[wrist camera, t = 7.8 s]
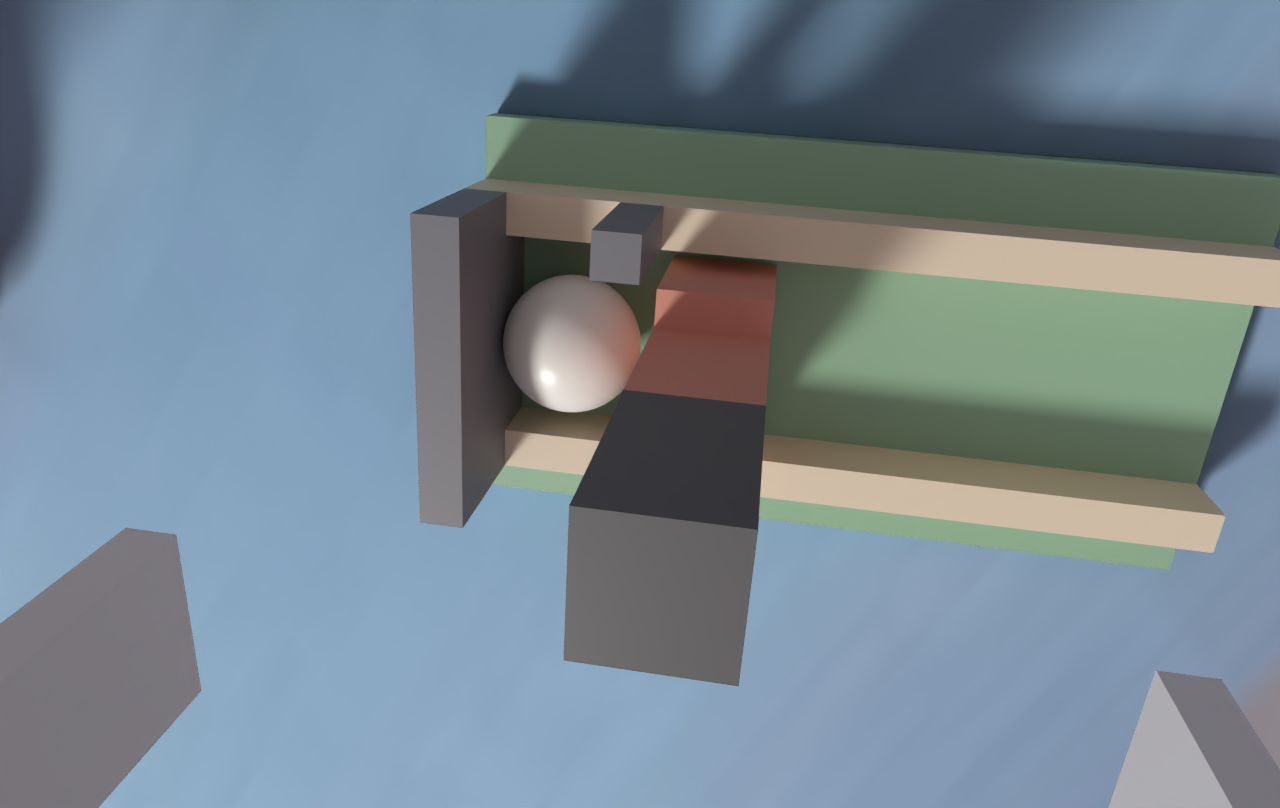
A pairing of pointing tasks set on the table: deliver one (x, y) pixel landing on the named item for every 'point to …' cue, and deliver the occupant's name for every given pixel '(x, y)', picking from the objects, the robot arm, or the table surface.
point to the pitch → (872, 325)
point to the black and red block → (677, 485)
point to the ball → (571, 343)
